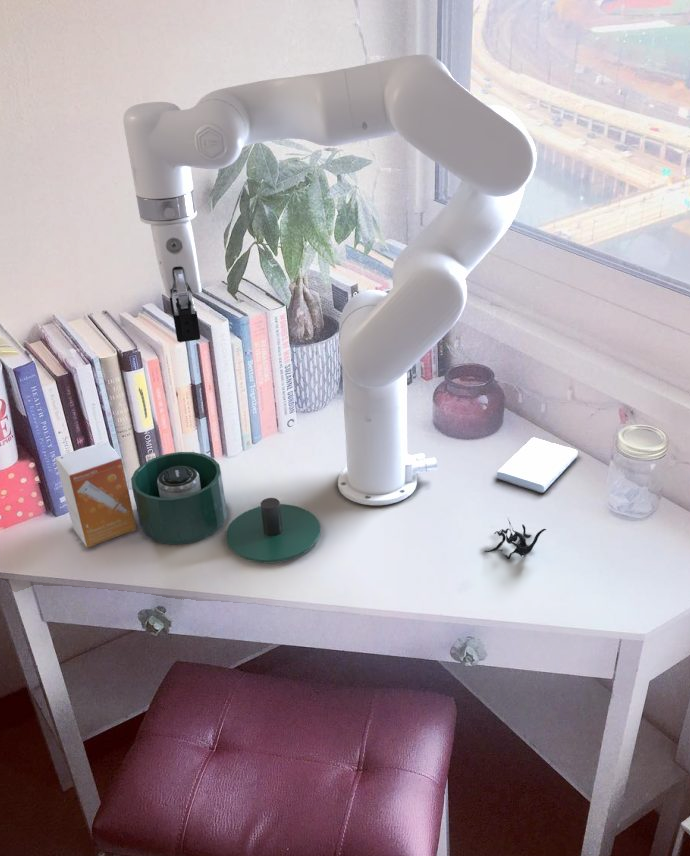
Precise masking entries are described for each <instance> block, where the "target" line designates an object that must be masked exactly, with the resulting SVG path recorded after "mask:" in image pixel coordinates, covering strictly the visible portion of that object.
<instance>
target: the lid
mask: <svg viewBox="0 0 690 856" xmlns="http://www.w3.org/2000/svg"><path fill="white" fill-rule="evenodd" d="M320 524H321V523H320V521H319V519H318V518H317V517H316V516H315V515H314V513H312V512H311V511H310V510H307V509H306V508H303V507H301V506H297V505H293V504H285V503H281V501H280V500H279V499H278V498H276V497H266V498H264V499H263V500H261V502H260V506H256V507H253V508H250V509H248V510H246V511H244V512H242V513H240V514H239V515H238V516H236V517H235V518H234V519H233V520H232V521H231V522H230V524H229V525H228V527H227V529H226V531H225V538H226V539H225V541H226V543H227V546H228V548H229V550H231V551H232V552H233V553H234V554H235V555H236V556H238V557H240V558H242V559H244V560H247V561H251V562H256V563H265V564H266V563H268V564H269V563H279V562H285V561H290V560H293V559H295V558H297V557H300V556H302V555H304V554H305V553H307V552H308V551H310V550H311V549H312V548H313V547H314V546H315V545H316V544H317V542H318V541H319V539H320V536H321V525H320Z"/></svg>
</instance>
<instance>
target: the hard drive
mask: <svg viewBox="0 0 690 856" xmlns="http://www.w3.org/2000/svg"><path fill="white" fill-rule="evenodd" d="M577 458H578V450H576V449H574V448H571V447H568V446H564V445H560V444H556V443H553V442H550V441H547V440H544V439H539V438H537V437H531V438H530V440H528V441H527V443H525V444H524V445H523V446H522V447H521V448H520V449H519V450H518V451H517V452H516V453H515V454H514V455H512V456H511V458H510V459H509V460H508V461H506V462H505V464H503V465H502V467H500V468H499V469H498V470H497V472H496V479H498V480H500V481H502V482H505V483H509V484H512V485H515V486H519V487H522V488H525V489H528V490H531V491H535V492H538V493H541V494H542V493H543V494H544V493H545V492H546V491H547V490H548V489H549V487H550V486H552V484H553V483H554V482H555V481H556V480H557V479H558V478H559V477H560V475H562V474H563V472H565V470H566V469H567V468H569V466H570V465H571V464H572V463H573V462H574V461H575V460H576V459H577Z"/></svg>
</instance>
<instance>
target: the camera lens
mask: <svg viewBox="0 0 690 856" xmlns="http://www.w3.org/2000/svg"><path fill="white" fill-rule="evenodd" d="M157 484H158V489H159V494H160V498H175V497H181V496H186V495H189V494H192V493H195V492H198V491H200V490H201V484H200V478H199V474H198V472H197V471H196V470H195V469H193V468H191V467H188V466H174V467H171V468H168V469H166V470H164V471H163V472H162V473H161V474H160V475H159V477H158V479H157Z"/></svg>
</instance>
